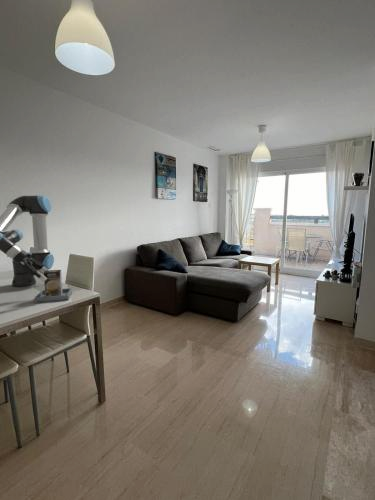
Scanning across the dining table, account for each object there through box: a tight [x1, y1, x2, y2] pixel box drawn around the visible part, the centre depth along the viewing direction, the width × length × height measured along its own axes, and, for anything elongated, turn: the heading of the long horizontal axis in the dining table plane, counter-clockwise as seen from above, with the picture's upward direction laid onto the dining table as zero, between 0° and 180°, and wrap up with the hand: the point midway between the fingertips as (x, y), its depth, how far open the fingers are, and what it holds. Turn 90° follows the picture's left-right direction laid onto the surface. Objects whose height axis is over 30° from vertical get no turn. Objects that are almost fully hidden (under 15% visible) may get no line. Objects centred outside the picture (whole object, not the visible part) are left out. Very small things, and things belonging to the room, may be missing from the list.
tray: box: [33, 287, 73, 304], centre depth 159 cm, size 16×18×3 cm
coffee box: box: [43, 269, 63, 297], centre depth 158 cm, size 9×6×16 cm
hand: (48, 277), depth 156 cm, fingers open, 13 cm apart
